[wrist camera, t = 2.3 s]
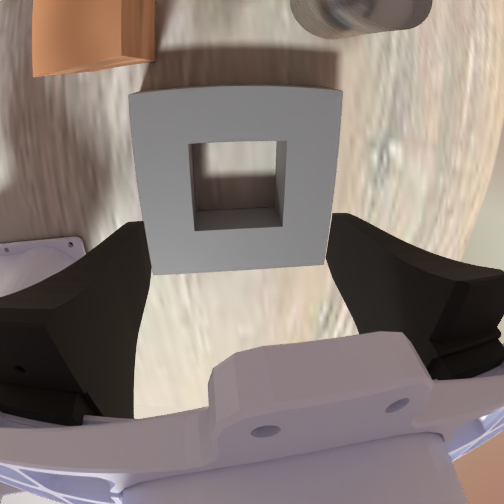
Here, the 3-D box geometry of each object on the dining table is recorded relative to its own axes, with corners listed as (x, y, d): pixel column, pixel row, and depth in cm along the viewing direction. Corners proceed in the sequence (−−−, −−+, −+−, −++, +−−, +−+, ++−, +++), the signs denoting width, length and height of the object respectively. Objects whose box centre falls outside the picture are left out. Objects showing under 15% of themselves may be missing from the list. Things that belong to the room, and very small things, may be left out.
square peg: (94, 71, 16) (33, 77, 9) (93, 14, 14) (33, -7, 7) (155, 61, 16) (121, 55, 10) (155, 2, 14) (123, -34, 7)
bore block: (158, 252, 24) (153, 275, 21) (139, 91, 17) (128, 94, 15) (312, 243, 25) (323, 264, 22) (325, 87, 18) (342, 91, 16)
